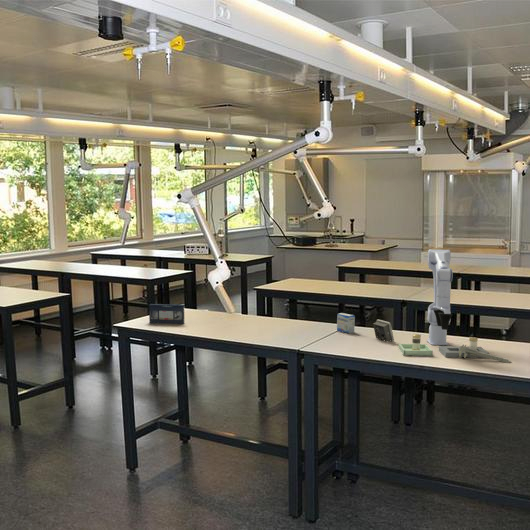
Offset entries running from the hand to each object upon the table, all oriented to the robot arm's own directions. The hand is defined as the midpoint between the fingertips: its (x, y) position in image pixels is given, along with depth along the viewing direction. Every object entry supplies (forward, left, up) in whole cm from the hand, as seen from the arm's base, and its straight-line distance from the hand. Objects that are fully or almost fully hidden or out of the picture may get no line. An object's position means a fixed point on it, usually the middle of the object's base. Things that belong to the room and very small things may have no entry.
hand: (442, 327), depth 261 cm
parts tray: (+2, -12, -10) cm, 16 cm away
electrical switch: (-20, -22, -11) cm, 31 cm away
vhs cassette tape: (-51, -130, -11) cm, 140 cm away
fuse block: (+4, +8, -10) cm, 14 cm away
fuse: (+4, +12, -10) cm, 17 cm away
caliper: (+13, +14, -11) cm, 22 cm away
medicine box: (-37, -38, -11) cm, 54 cm away
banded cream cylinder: (+2, -11, -10) cm, 15 cm away
